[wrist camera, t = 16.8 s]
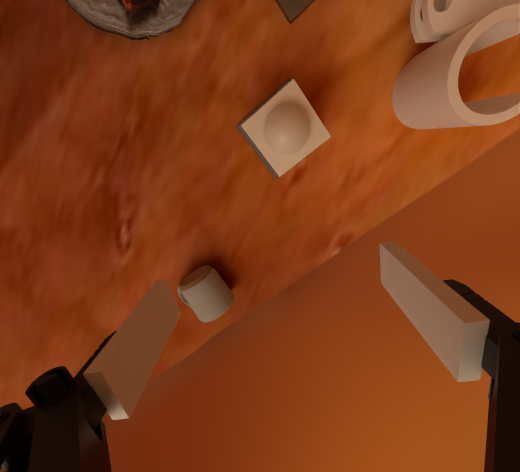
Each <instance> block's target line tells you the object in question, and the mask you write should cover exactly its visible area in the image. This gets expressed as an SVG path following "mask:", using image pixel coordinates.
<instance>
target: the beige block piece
mask: <svg viewBox="0 0 520 472" xmlns="http://www.w3.org/2000/svg"><path fill="white" fill-rule="evenodd" d="M241 126H242V128H243V129H244V130H245V132H246V133H247V134H248V136H249V137H250V138H251V140H252V141H253V142H254V144H255V145H256V146H257V148H258V149H259V150H260V152H261V153H262V154H263V156H264V157H265V158H266V160H267V161H268V162H269V164H270V165H271V166H272V168H273V169H274V170H275V172H276V173H277V174H278V176H279V177H280V176H282V175H283V174H284V173H285V172H287V171H288V170H289V169H290V168H292V167H293V166H294V165H296V164H297V163H298V162H299V161H301V160H302V159H303V158H304V157H306V156H307V155H308V154H310V153H311V152H312V151H313V150H315V149H316V148H317V147H318V146H320V145H321V144H322V143H324V142H325V141H326V140H327V139H329V138H330V137H331V136H330V134H329V133H328V131H327V130H326V128H325V127H324V125H323V123H322V122H321V120H320V119H319V117H318V116H317V114H316V113H315V111H314V110H313V108H312V106H311V105H310V103H309V102H308V100H307V99H306V97H305V96H304V94H303V92H302V91H301V89H300V88H299V86H298V85H297V83H296V82H295V80H294V79H292V80H291V81H290V82H289V83H288V84H287V85H286V86H285V87H284V88H282V89H281V90H280V91H279V92H278V93H277V94H276V95H275V96H273V97H272V98H271V99H270V100H269V101H268V102H267V103H266V104H265V105H263V106H262V107H261V108H260V109H259V110H258V111H257V112H256V113H254V114H253V115H252V116H251V117H250V118H249V119H248V120H247V121H246V122H244V123H243V124H242V125H241Z"/></svg>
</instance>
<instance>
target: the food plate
mask: <svg viewBox="0 0 520 472" xmlns="http://www.w3.org/2000/svg"><path fill="white" fill-rule="evenodd" d="M66 1H67V3H68V4H69V5H70V6H71V7H72V8H73V9H74V10H75V11H76V12H77V13H78V14H79V15H80V16H81V17H83V18H84V19H85V20H86V21H88V22H89V23H91V24H92V25H93V26H95V27H96V28H98V29H102V30H103V31H106V32H110V33H113V34H118V35H121V36H125V37H127V38H129V39H131V40H132V39H133V40H136V39H137V40H138V39H139V40H142V39H145V38H146V39H150V38H147V37H146V36H147V35H149V36H150V37H156V36H158V35H160V33H161V32H164V31H165V32H170V31H172V30H173V29H174V28H175V27H177V25H179V24H180V21H181V20H184V19H182V18H183V17H184V16H185V15H186V13H187V12H188V10H189V8H190V7H191V5H192V4H193V2H194V1H195V0H66ZM181 22H182V21H181Z"/></svg>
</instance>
